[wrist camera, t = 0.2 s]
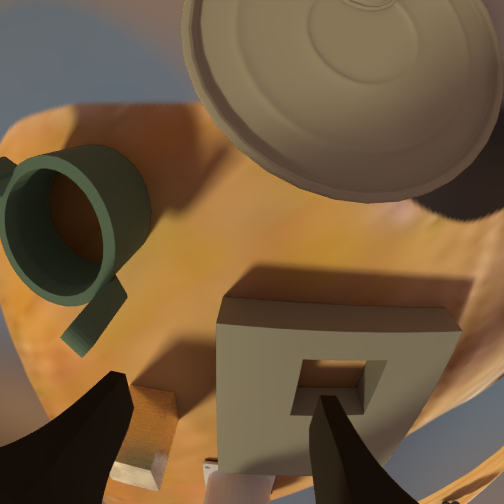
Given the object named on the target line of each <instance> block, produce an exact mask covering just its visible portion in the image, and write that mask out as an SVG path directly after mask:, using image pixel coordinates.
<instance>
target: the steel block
mask: <svg viewBox="0 0 504 504" xmlns="http://www.w3.org/2000/svg"><path fill="white" fill-rule="evenodd" d="M129 390H130V394H131V398H132V401H133V405H134V411H133V414H132V418H131V422H130V425H129V429H128V431H127V434H126V436H125V438H124V441H123V443H122V446H121V448H120V450H119V452H118V455H117V457H116V460H115V462H114V464H113V467H112V469H111V471H110V474H109V475H110V476H111V478H112V479H113V480H116V481H120V482H123V483H127V484H131V485H134V486H138V487H142V488H146V489H150V490H155V491H160V487H161V483H162V479H163V475H164V472H165V468H166V464H167V460H168V457H169V453H170V449H171V446H172V442H173V438H174V435H175V431H176V428H177V424H178V420H179V419H178V413H177V406H176V400H175V393H174V392H169V391H163V390H157V389H152V388H146V387H141V386H136V385H131V384H130V387H129Z"/></svg>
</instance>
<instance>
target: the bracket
mask: <svg viewBox="0 0 504 504" xmlns="http://www.w3.org/2000/svg"><path fill="white" fill-rule="evenodd" d="M57 171H58V172H60V173H62V174H64V175H66V176H68V177H69V178H70V179H71V180H73V181H74V182H75V183H76V184H77V185H78V186H79V187H80V188H81V189H82V191H83V192H84V193H85V194H86V196H87V198H88V199H89V201H90V202H91V204H92V206H93V208H94V210H95V213H96V215H97V217H98V220H99V224H100V227H101V231H102V238H103V260H102V264H101V263H94V262H91V261H88V260H85V259H83V258H81V257H80V256H78V255H76V254H75V253H74V252H73V251H71V250H70V249H69V248H68V247H67V246H66V245H65V243H64V242H63V241H62V239H61V238H60V236H59V235H58V233H57V231H56V229H55V227H54V225H53V221H52V218H51V214H50V208H49V194H50V187H51V184H52V181H53V178H54V176H55V174H56V172H57ZM150 222H151V207H150V199H149V195H148V191H147V188H146V186H145V183H144V181H143V179H142V177H141V175H140V174H139V172H138V171H137V169H136V168H135V166H134V165H133V164H132V163H131V162H130V161H129V160H128V159H127V158H126V157H124V156H123V155H122V154H120V153H119V152H117V151H115V150H113V149H111V148H109V147H105V146H101V145H85V146H80V147H75V148H70V149H65V150H60V151H55V152H51V153H47V154H42V155H38V156H35V157H31V158H28V159H26V160H25V161H23V162H21V163H20V164H19V165H16V164H15V163H13V162H12V161H11V160H9V159H8V158H7V157H1V158H0V238H1V242H2V245H3V248H4V251H5V253H6V256H7V258H8V260H9V262H10V264H11V266H12V267H13V269H14V270H15V272H16V273H17V275H18V276H19V277H20V279H21V280H22V281H23V282H24V283H25V284H26V285H27V286H28V287H29V288H30V289H31V290H32V291H33V292H35V293H36V294H37V295H39V296H40V297H42V298H44V299H45V300H47V301H50V302H52V303H55V304H58V305H63V306H79V305H84V304H86V303H88V302H89V304H88V305H87V306H86V307H85V308H84V309H83V311H82V312H81V313H80V314H79V315H78V316H77V318H76V319H75V320H74V321H73V322H72V323H71V325H70V326H69V327H68V328H67V330H66V331H65V332H64V333H63V334H62V336H61V337H60V338H61V339H62V340H63V341H64V342H65V343H66V344H67V345H68V346H70V347H71V348H72V349H73V350H74V351H75V352H76V353H77V354H78V355H79V356H80V357H83V356H84V355H85V354H86V353H87V352H88V351H89V350H90V349H91V348H92V347H93V346H94V344H95V343H96V342H97V340H98V339H99V337H100V336H101V334H102V333H103V331H104V330H105V329H106V327H107V326H108V324H109V323H110V321H111V320H112V319H113V317H114V316H115V314H116V313H117V312H118V310H119V309H120V307H121V306H122V305H123V303H124V302H125V301H126V299H127V293H126V292H125V290H124V288H123V287H122V285H121V283H120V281H119V280H118V278H117V276H116V273H117V272H118V271H119V270H120V269H121V268H122V267H123V265H124V264H125V263H126V262H127V261H128V260H129V259H130V258H131V257H132V256H133V255H134V254H135V253H136V252H137V250H138V249H139V248H140V247H141V246H142V245H143V244H144V242H145V240H146V238H147V235H148V232H149V227H150Z"/></svg>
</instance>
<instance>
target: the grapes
mask: <svg viewBox="0 0 504 504" xmlns="http://www.w3.org/2000/svg"><path fill="white" fill-rule="evenodd" d="M442 504H460V503H459V502H457V501H454V502H452V503H448V502H444V503H442Z"/></svg>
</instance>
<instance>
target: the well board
mask: <svg viewBox="0 0 504 504" xmlns="http://www.w3.org/2000/svg"><path fill="white" fill-rule="evenodd" d="M462 332H463V331H462V329H461V328H460V327H459V325H458V324H457V323H456V322H455V320H454V319H453V318H452V316H451V315H450V314H449V313H448V311H447V310H446V309H445V308H412V307H379V306H354V305H334V304H316V303H300V302H285V301H271V300H258V299H246V298H234V297H223V299H222V303H221V306H220V310H219V314H218V318H217V322H216V401H217V447H218V472H227V473H237V474H250V475H268V476H313V475H312V468H311V461H310V453H309V426H310V423H311V420H312V417H313V414H314V411H315V408H316V405H317V402H318V398H319V395H336V396H337V397H338V399H339V401H340V403H341V405H342V407H343V409H344V411H345V412H346V414H347V416H348V418H349V419H350V421H351V423H352V425H353V426H354V428H355V430H356V431H357V433H358V434H359V436H360V437H361V439H362V441H363V442H364V444H365V445H366V446H367V448H368V449H369V451H370V452H371V453H372V455H373V456H374V458H375V459H376V460H377V461H378V463H379V464H380V465H381V466H382V468H383V466H384V465H385V464H386V462H387V461H388V460H389V458H390V457H391V456H392V454H393V453H394V451H395V450H396V449H397V447H398V446H399V444H400V443H401V442H402V440H403V439H404V437H405V436H406V434H407V433H408V431H409V430H410V428H411V427H412V425H413V424H414V422H415V420H416V419H417V417H418V416H419V414H420V412H421V411H422V409H423V407H424V406H425V404H426V402H427V401H428V399H429V397H430V395H431V394H432V392H433V390H434V388H435V387H436V385H437V383H438V381H439V379H440V377H441V376H442V374H443V372H444V370H445V368H446V366H447V364H448V362H449V360H450V358H451V356H452V354H453V352H454V350H455V347H456V345H457V343H458V341H459V339H460V337H461V334H462ZM303 359H308V360H367V361H366V364H365V367H364V369H363V372H362V375H361V377H360V380H359V383H358V385H357V387H297V384H298V379H299V375H300V370H301V366H302V361H303Z"/></svg>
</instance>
